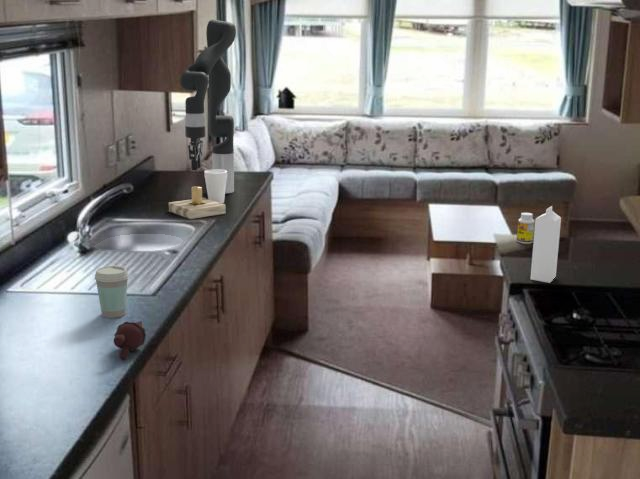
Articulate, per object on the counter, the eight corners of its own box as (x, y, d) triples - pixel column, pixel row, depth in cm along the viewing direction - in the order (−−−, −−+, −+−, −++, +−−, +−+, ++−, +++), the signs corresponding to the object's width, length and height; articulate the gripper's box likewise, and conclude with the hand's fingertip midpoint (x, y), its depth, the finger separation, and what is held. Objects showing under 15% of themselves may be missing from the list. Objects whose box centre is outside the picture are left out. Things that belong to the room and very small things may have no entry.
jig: (168, 211, 331) (168, 202, 330) (203, 206, 341) (203, 197, 340) (190, 219, 319) (189, 210, 318) (225, 213, 329) (225, 204, 328)
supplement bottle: (513, 240, 296) (515, 212, 293) (527, 239, 297) (529, 211, 295) (522, 244, 290) (524, 216, 288) (535, 243, 292) (538, 215, 290)
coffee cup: (132, 318, 215) (130, 273, 212) (98, 321, 212) (95, 276, 209) (128, 307, 223) (126, 263, 220) (95, 310, 220) (92, 266, 217)
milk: (555, 278, 254) (563, 207, 248) (549, 283, 249) (557, 210, 243) (535, 274, 257) (542, 204, 251) (529, 279, 252) (536, 207, 246)
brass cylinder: (190, 212, 330) (189, 187, 327) (198, 210, 332) (198, 185, 330) (195, 213, 327) (195, 188, 324) (204, 212, 329) (203, 187, 327)
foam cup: (229, 200, 352) (229, 169, 348) (225, 205, 343) (224, 173, 339) (207, 199, 353) (207, 168, 349) (202, 204, 344) (201, 172, 340)
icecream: (122, 311, 201) (98, 339, 187) (150, 306, 200) (128, 334, 186) (131, 337, 203) (108, 366, 190) (159, 332, 202) (138, 361, 188)
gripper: (200, 127, 314) (201, 172, 318) (209, 122, 327) (209, 166, 332) (180, 126, 314) (182, 172, 319) (190, 122, 328) (191, 165, 332)
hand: (196, 168), depth 325 cm, fingers open, 4 cm apart
